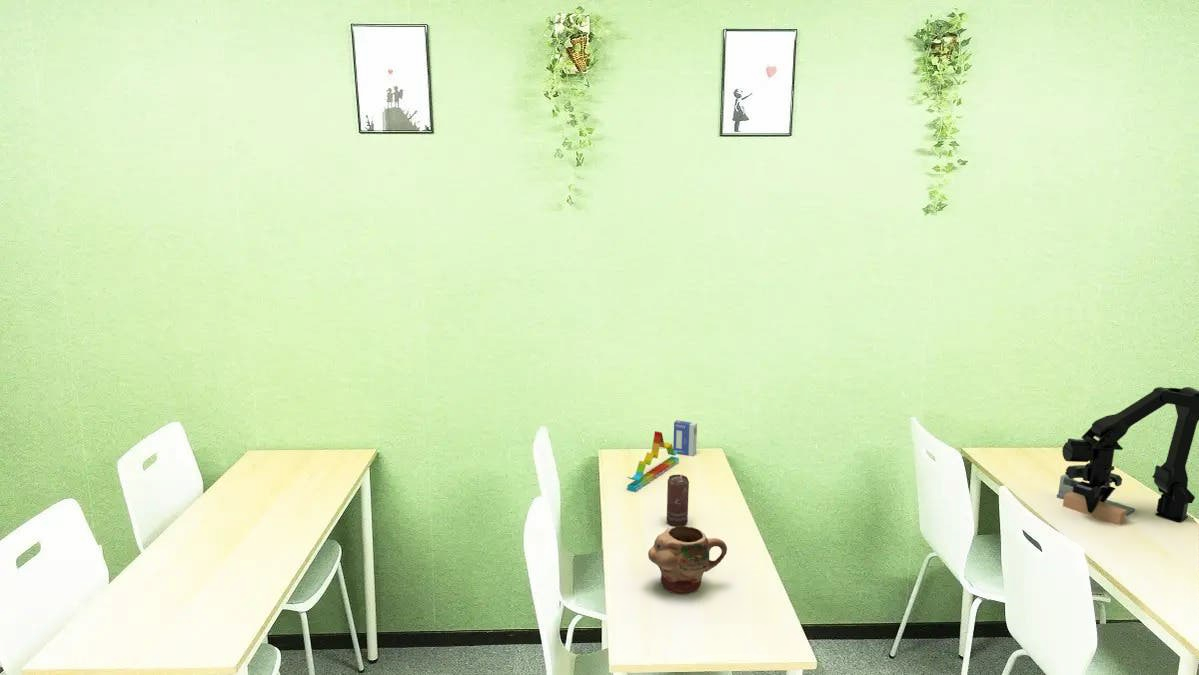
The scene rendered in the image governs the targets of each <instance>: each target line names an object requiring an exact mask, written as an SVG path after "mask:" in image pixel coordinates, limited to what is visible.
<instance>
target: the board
mask: <svg viewBox="0 0 1199 675" xmlns="http://www.w3.org/2000/svg"><path fill="white" fill-rule="evenodd" d="M1082 496H1083V495H1082ZM1056 498H1059V499H1061V500H1064V496H1063V495H1060V494H1058V493H1057V494H1056ZM1104 503H1107V504H1110V505H1113V506H1116V507H1119V508H1122V509H1125V510H1127V513H1126V517H1127V516H1129V515H1131V514H1133V513H1135V512H1136V508H1135V507H1131V506H1128V505H1124V504H1122V503H1118V502H1115V501H1113V500H1109V499H1107V500H1106V501H1105V502H1104Z"/></svg>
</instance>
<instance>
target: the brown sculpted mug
mask: <svg viewBox="0 0 1199 675" xmlns="http://www.w3.org/2000/svg"><path fill="white" fill-rule="evenodd" d="M714 547H718V548H720V551H721V553H720V555H719V556H718V557H717V558H716V559H715V560H711V559H710V551H711V550H712V548H714ZM727 551H728V547H727V544H726V542H725V541H724V540H723V539H719V538H717V537H715V538H714V537H713V538H712V537H710V538H707V536H706V534H705V533H704V532H703V531H702V530H701V529H699V528H696V527H693V526H689V525H684V526H683V525H680V526H676V527H675V526H672V527H670V528H667V529H666V530H665V531H663V532H661V533H660V534H658V535H657V537H656V538H655V540H654V543H653V546H651V548H650V549H649V550H648V553H647V554H648V555H647V556H648V559H649V561H651V562H652V563H653V564H655V565H656V566H657V567H658V568H659V571H660V575H661V576H660V583H661V586H662V587H663V588H664V589H665V590H667V591H669V592H671V593H673V594H676V595H677V594H678V595H688V594H694V593H696V592H697V591H699V589H700V588H701V585H702V579H703V575H704V573H707V572H710V570H712V569H713V568H715V567H717V566H718V565H719V564H720V563H721V562H722V561H723V559H724V558H725V556H726V555H727Z"/></svg>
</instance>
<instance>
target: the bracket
mask: <svg viewBox="0 0 1199 675" xmlns="http://www.w3.org/2000/svg"><path fill="white" fill-rule="evenodd" d="M1079 482H1081V481H1080V480H1076V479H1075V478H1073V479H1069V477H1068V476H1067V475H1066V474H1063V475H1060V478H1059V485H1058V486H1059V487H1058V492H1057V494H1060V495H1063V496H1064V495H1065V494H1067V493H1069V492H1073V491H1072V490H1073V485H1075V484H1077V483H1079ZM1073 493H1074V492H1073ZM1076 494H1077V493H1076ZM1079 495H1080V494H1079Z"/></svg>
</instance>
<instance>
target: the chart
mask: <svg viewBox="0 0 1199 675" xmlns="http://www.w3.org/2000/svg"><path fill="white" fill-rule="evenodd" d="M653 434H654V435H653V441H652V448H651V452H646V454H645V457H644V458H643V459H644V460H639V461H638V464H637V468H636V472H635V474H634V475H633V476H632V477H629V476H627V479H629V480H633V481H632V482H630V483H629V484H627V488H626V490H627V491H629V492H633V493H636V492H637V491H640V489H642V488H644V487H645V486H646V485H649V484H650V483H651V482H652V481H655V480H656V479H657V478H659V476H661V475H663V474H665V472H667V471H669V470H670V469H672V468H673V467H674V466H676V465H677V464H679V462H680V457H676V455H678V454H677V453H678V451H674V450H673V443H670V442H665V441H664V437H663V433H662V432H661V431H654V433H653ZM660 448H664V449H666V453H667V455H671V456H670V457H668V458H667V459H665V460H664V461H662V462H661V463H659V464H658V465H656V466H655V467H653V468H651V469H650V470H648V471H646V473H645V470H646V466H651V464H652V461H653V458H654V459H658V458H659V451H660Z"/></svg>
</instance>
